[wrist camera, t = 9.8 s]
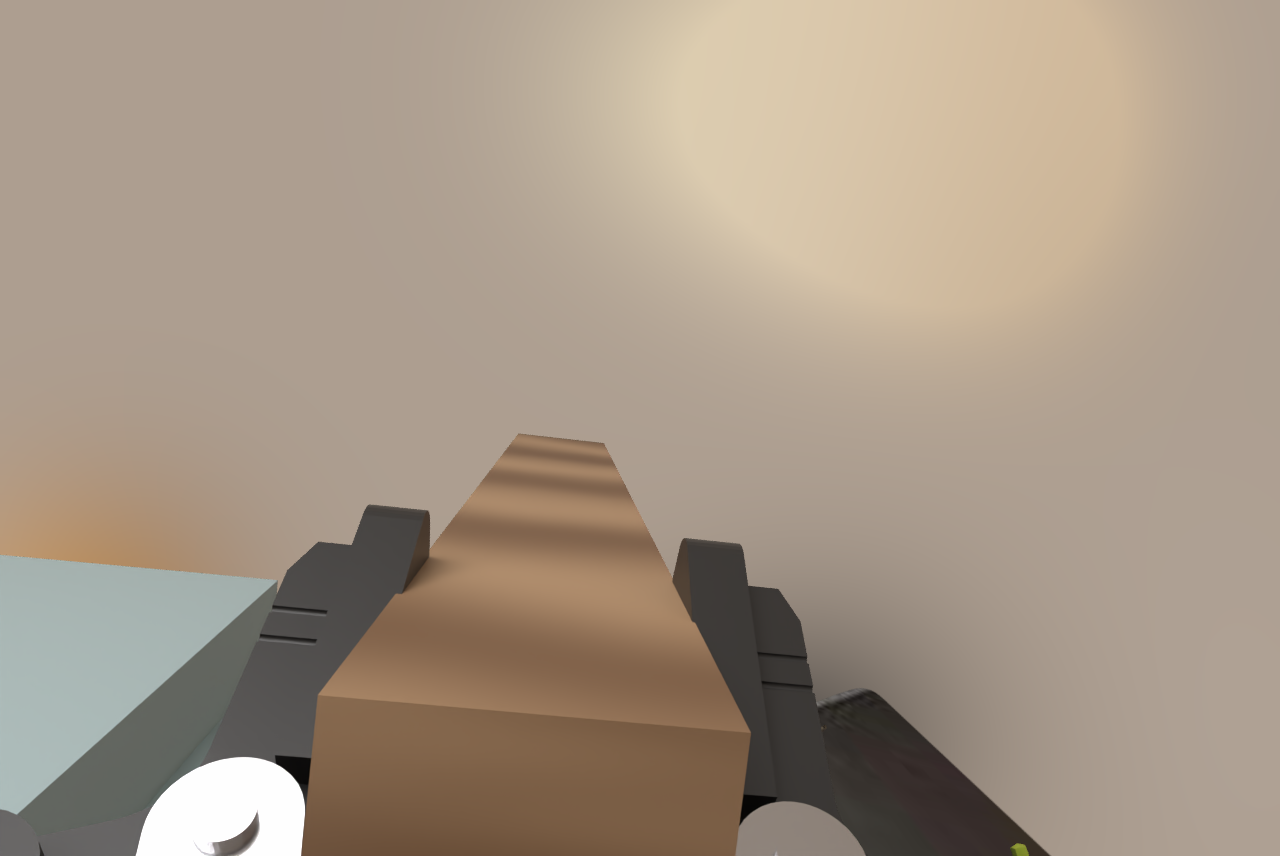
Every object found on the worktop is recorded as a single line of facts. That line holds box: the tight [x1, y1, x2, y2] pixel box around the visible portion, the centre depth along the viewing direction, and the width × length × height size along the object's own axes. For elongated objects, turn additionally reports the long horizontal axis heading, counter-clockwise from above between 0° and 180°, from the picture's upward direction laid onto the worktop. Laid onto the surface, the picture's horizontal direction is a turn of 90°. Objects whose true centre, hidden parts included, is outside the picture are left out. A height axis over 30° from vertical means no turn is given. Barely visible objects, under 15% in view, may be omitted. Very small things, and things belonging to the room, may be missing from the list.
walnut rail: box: [301, 434, 751, 856], centre depth 21 cm, size 28×3×4 cm, turn 4°
